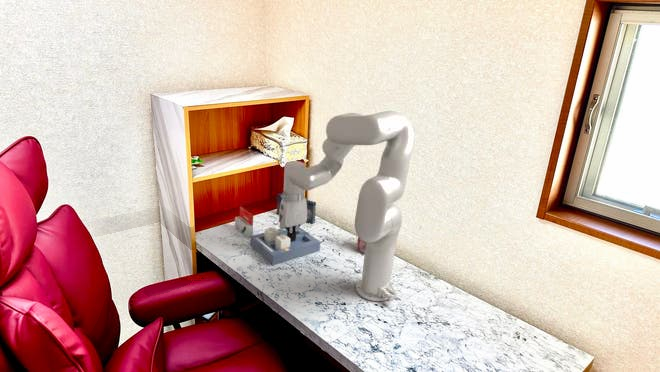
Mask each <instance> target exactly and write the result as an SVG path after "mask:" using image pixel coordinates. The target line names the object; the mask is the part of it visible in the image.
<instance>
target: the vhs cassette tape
mask: <svg viewBox="0 0 660 372" xmlns="http://www.w3.org/2000/svg"><path fill="white" fill-rule="evenodd" d="M282 194H283V193H278V194H276V195H277V198H276V201H277V203H276V216H277V215H278V216H279V210H280V204H281V201H282V198H281V195H282ZM306 202H307V221H306V223H305V224H309V223H310V225H313V224H314V223H315V222H316V207H317V202H316V201H312V200H309V199H306Z"/></svg>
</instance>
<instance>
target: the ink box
mask: <svg viewBox="0 0 660 372" xmlns="http://www.w3.org/2000/svg"><path fill="white" fill-rule="evenodd" d="M234 217H235V218H234V229H236V230H237V231H238V232H240V234H242V235H243V236H245V237H246V239H250V236H253V235H254V214H252V213H251V212H249V211H248V210H247V209H245V208H244V207H243V206H241V205H240V206H239V216H234Z"/></svg>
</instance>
